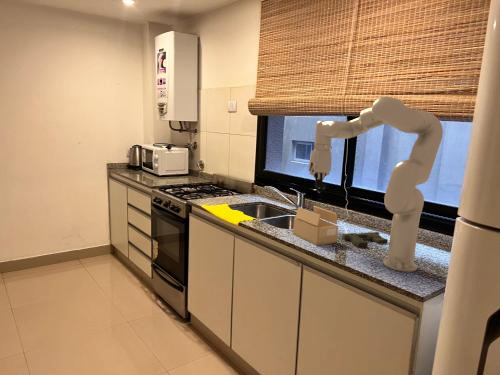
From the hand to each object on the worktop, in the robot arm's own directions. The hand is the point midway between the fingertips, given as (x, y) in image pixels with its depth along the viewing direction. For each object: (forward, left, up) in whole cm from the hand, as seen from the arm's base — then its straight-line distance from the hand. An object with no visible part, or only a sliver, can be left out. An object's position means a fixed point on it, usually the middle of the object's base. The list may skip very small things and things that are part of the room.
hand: (318, 187), depth 172 cm
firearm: (+8, -25, -25) cm, 36 cm away
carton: (0, 0, -25) cm, 25 cm away
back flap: (+3, -4, -13) cm, 14 cm away
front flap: (-4, +3, -13) cm, 14 cm away
